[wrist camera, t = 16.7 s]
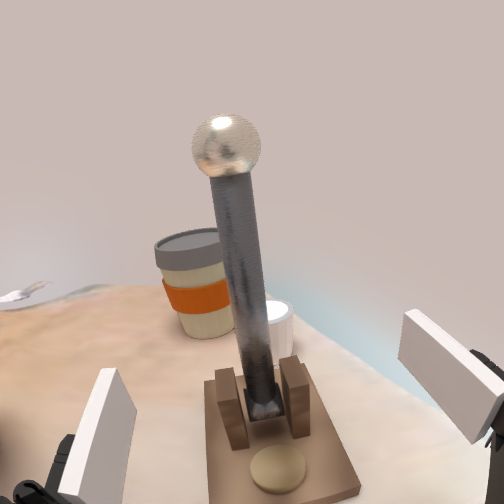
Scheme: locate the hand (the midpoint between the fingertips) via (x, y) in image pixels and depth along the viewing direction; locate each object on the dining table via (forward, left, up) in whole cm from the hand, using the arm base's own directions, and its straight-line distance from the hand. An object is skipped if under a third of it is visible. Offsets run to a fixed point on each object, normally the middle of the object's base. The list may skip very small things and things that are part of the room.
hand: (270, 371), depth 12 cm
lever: (0, +9, -13) cm, 16 cm away
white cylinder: (+3, +24, -17) cm, 30 cm away
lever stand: (0, +9, -17) cm, 19 cm away
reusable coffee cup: (-5, +35, -17) cm, 39 cm away
